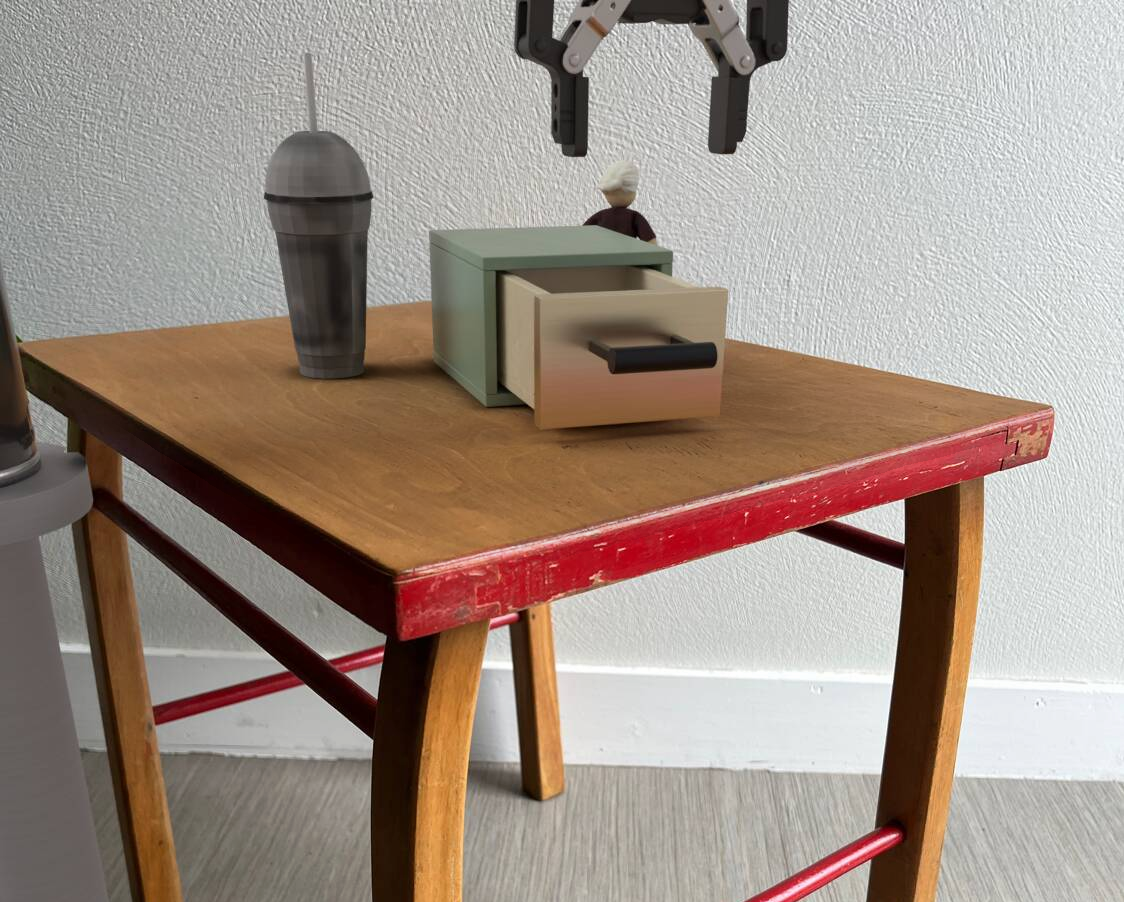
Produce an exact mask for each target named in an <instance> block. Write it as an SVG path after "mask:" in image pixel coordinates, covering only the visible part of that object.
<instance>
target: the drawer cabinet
mask: <svg viewBox="0 0 1124 902" xmlns="http://www.w3.org/2000/svg"><path fill="white" fill-rule="evenodd" d="M428 241H429V267H430V268H429V270H430V296H431V321H432V326H431V327H432V347H433V349H432V351H433V362H434V363H435V364H436V365H437V366H438V367H439V368H441V369H442V370H443V371H444V372H445V373H446V374H447V375H448V376H450V377H451V378H452V379H453V380H455V382H457V384H459V385H460V386H461V387H463V389H464V390H466V391H467V392H468V393H469V394H471V395H472V396H473V397H474V398H475V400H477V401H479V402H480V403H481V404H482V405H483V406H484V407H486V408H493V407H495V408H496V407H506V406H507V407H508V406H509V407H510V406H522V405H527V404H526V403H525V402H524V401H523V400H521V399H520V398H519V397H517V396H516V395H515V394H514V393H512V392H511V391H510V390H509V389H507V388H506V387H505V386H503V385H502V384H501V383H500V382H498V381H497V342H496V276H495V271H497V270H523V269H550V268H576V267H602V266H628V265H642V266H645V267H647V268H650V269H653V270H655V271H658V272H661V273H663V274H666V275H669V276H671V277H673V268H674V267H673V264H674V250H672V249H668V248H665V247H663V246H659V245H658V246H657V245H654V244H651V243H648V242H645V241H642V240H640V239H639V238H637V239H636V238H633V237H630V236H627V235H624V234H621V233H618V232H615V231H612V230H609V229H606V228H603V227H600V226H597V225H590V226H582V225H562V226H561V225H560V226H527V227H492V228H487V227H486V228H457V229H454V228H453V229H429V230H428Z"/></svg>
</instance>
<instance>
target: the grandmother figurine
mask: <svg viewBox="0 0 1124 902" xmlns="http://www.w3.org/2000/svg"><path fill="white" fill-rule="evenodd" d="M639 180H640V176H639V169H638V166H637V165H635V163H634V162H631V161H628V160H622V159H619V160H616V161H615V162H614V163H611V164H610V165H609V166H608V167H607V168H605V170H604V171H603V172H602V176H601V177H600V178H599V182H598V185H597V186H596V187H595V189H598V190H599V191H600V192H601V193H602V194H603V195H604V197H605V200H606V202H607V203H608V204H609V205H610V206H611V207H608V208H604V209H600V210H598V211H597V212H595V213H594V214H592V215H591V216H589V218H587V220H585V221H584V222H583V223H582V225H581V226H590V225H597V226H600V227H603V228H606V229H609V230H612V231H615V232H618V233H621V234H624V235H627V236H630V237H633V238H636V239H639V240H642V241H645V242H648V243H651V244H654V245H657V246H659V244H658V241H657V235H656V233H655V232H654V230H653V228H652V226H651V225H650V223H649V221H648V219H647V218H646V217H645V216H644V215H643V214H641V212H639V211H637V210H636V209H632V208H628V207H630V206H631V205H632V204H633V203H634V202H635V200H636V198H637V197H636V196H637V189H638V186H639Z"/></svg>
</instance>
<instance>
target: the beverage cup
mask: <svg viewBox="0 0 1124 902" xmlns="http://www.w3.org/2000/svg"><path fill="white" fill-rule="evenodd" d="M303 65H304V75H305V76H304V78H305V90H306V101H307V103H306V104H307V114H308V115H307V116H308V127H309V128H308V129H309V130H300V131H296V132H294V133H292V134H290V135H289V136H287V137H286V138H285V139H284V140H283V141H282V142H281V143H280V144H278V146H277V147H276V149H275V151H274V152H273V154H271V158H270V160H269V162H268V165H267V170H266V173H265V181H264V185H265V188H264V189H265V191H264V193H263V199H264V200H265V201H266V205H267V212H268V217H269V220H270V224H271V227H272V230H273V231H274V234H275V239H276V245H277V251H278V255H279V263H280V268H281V275H282V280H283V285H284V293H285V297H286V304H287V309H288V315H289V321H290V326H291V332H292V333H291V334H292V338H293V344H294V349H295V352H296V356H297V361H298V363H299V373H300V374H301V376H304V377H306V378H311V379H312V378H313V379H332V380H333V379H344V378H351V377H357V376H360V375H362V374H364V373H365V355H366V347H367V346H366V345H367V294H368V290H367V289H368V245H369V244H368V240H369V239H368V233H369V229H370V227H371V218H372V209H373V208H372V200H373V199H374V193H373V191H372V189H371V180H370V177H369V173H368V170H367V168H366V166H365V163H364V161H363V159H362V157H361V156H360V153H358V152H357V150H356V149H355V148H354V146H353V145H351V143H349V142H348V141H347V140H346V139H344V138H343V137H341V136H340V135H338V134H337V133H334V132H332V131H328V130H318V129H319V128H318V119H317V105H316V93H315V83H314V82H315V81H314V69H313V55H312V53H311V52H303Z"/></svg>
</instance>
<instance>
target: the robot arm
mask: <svg viewBox="0 0 1124 902" xmlns="http://www.w3.org/2000/svg"><path fill="white" fill-rule="evenodd" d="M789 3H790V0H746V22H745V23H746V24H745V25H746V27H745V35H744V32H743V31H742V29H741V27H740V18H739V15H738V12H737V11H736V9H735V7H734V4H733V3H732V1H731V0H579V1H578V2H577V4H576V5H575V7H574V9H573V10H572V12H571V13H570V15H569V17H568V22H567V24H566V26H565V27H564V29H563V30H562V32H561V34H560V35H559V37H558V38H557V39H556V38H554V37H553V31H554V14H555V0H515V13H514V36H513V37H514V39H513V49H514V52H515V54H516V55H517V57H518V58H520V59H521V60H528V61H530V62H532V63H534V64H537V65H539V66H541V67H543V68H544V69H546V71H547V72H548V74H549V77H550V80H551V82H550V83H551V84H550V85H551V86H550V89H551V90H550V91H551V94H550V95H551V96H550V99H551V100H550V106H551V107H550V111H551V113H550V134H551V136H552V139H553V143H554V144H557V145H560V147H561V153H562V156H563V157H569V158H585V157H587V154H588V151H589V149H588V148H589V101H590V100H589V99H590V77H589V76H584V68H585V67H586V65H587V63H588V62H589V61H590V59H591V57H592V56H593V55H594V53H595V51H596V49H598V47H599V45H600V44H601V42H602V41H603V39H605V38H606V37H607V36H608V35H610V33H611V32H612V31H613V29H614V28H615V26H616V25H617V23H618V24H622V25H623V24H626V25H628V24H631V25H632V24H633V25H634V24H635V25H636V24H649V23H651V22H653V23H656V24H659V25H687V26H688V28H689V29H690V31H691V33H692V34H693V36H694V37H695V38H696V39H697V40H699V41H700V43H701V45H702V46H703V47H704V49H705V51H706V53H707V55H708V56H709V58H710V61H711V62H712V64H713V67H714V68H715V69H716V71H717V72H718V73H717V76H711V80H710V81H711V84H710V101H709V117H708V118H709V119H708V133H707V134H708V135H707V136H708V137H707V148H708V152H709V153H711V154H716V155H734V154H735V153H736V151H737V149H738V143H743V141H744V138H745V137H746V134H747V129H748V128H747V127H748V111H749V100H750V99H749V98H750V85H751V84H750V83H751V78H752V76H753V75H754V72H755V71H756V70H757V69H760V68H761V67H763V66H766V65H768V64H771V63H773V62H779V61H781V60H783V59H784V58H785V56H786V55H787V52H788V38H789V37H788V36H789V33H788V32H789V6H790V5H789ZM1 254H2V253H0V487H4V486H8V485H11V484H13V483H16V482H19V481H22V480H24V479H26V478H28V477H30V476H32V475H34V474H35V473H36V472H38V471H39V470H40V468H41V459H40V453H39V449H38V447H37V446H36V442H37V441H36V433H35V427H34V425H33V421H32V415H31V411H30V405H29V399H28V395H27V394H28V393H27V389H26V388H27V387H26V384H25V378H24V377H25V376H24V372H23V368H22V362H21V356H20V351H19V346H18V340H17V333H16V329H15V324H14V319H13V313H12V309H11V303H10V298H9V292H8V287H7V286H8V285H7V282H6V276H5V271H4V265H3V260H2V256H1Z"/></svg>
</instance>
